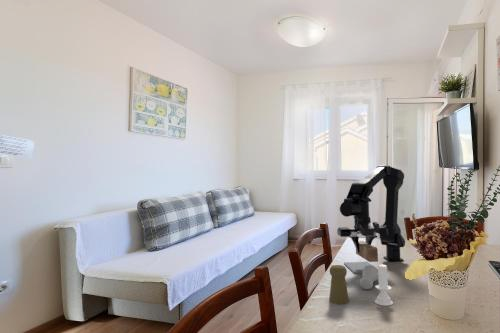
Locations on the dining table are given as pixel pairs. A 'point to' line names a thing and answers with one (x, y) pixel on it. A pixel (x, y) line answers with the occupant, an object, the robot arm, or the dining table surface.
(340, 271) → the pepper shaker
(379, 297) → the candle
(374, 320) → the dining table surface
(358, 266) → the rest mat
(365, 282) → the salt shaker
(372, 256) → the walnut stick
